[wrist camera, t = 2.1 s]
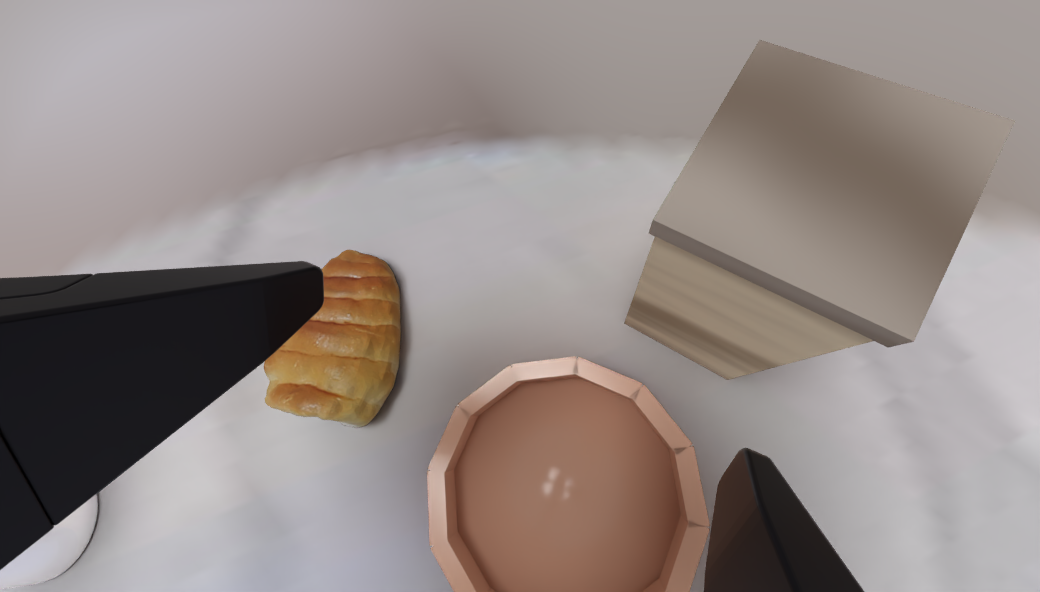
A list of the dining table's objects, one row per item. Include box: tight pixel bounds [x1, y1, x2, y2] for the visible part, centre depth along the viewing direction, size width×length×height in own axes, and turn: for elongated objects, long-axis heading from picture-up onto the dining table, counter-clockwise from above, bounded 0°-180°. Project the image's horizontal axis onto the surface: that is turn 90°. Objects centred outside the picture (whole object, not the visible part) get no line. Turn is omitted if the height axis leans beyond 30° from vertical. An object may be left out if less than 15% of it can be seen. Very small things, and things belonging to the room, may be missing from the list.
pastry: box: [264, 250, 401, 428], centre depth 23 cm, size 9×7×4 cm
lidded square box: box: [625, 40, 1015, 380], centre depth 16 cm, size 6×6×12 cm
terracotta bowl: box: [427, 356, 710, 592], centre depth 19 cm, size 12×12×2 cm
